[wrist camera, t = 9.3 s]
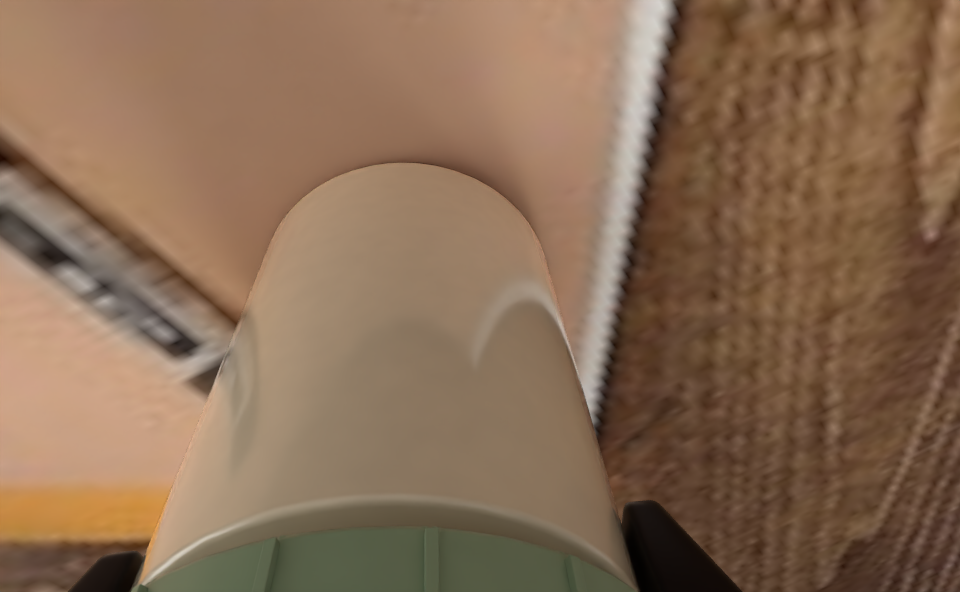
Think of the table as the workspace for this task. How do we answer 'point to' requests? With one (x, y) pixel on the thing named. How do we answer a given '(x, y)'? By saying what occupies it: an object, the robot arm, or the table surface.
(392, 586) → the jar lid
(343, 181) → the jar
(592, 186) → the table surface
